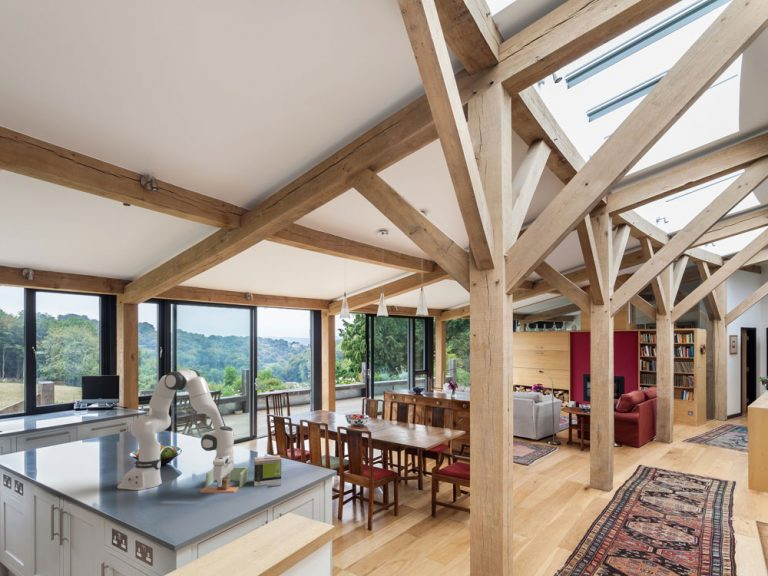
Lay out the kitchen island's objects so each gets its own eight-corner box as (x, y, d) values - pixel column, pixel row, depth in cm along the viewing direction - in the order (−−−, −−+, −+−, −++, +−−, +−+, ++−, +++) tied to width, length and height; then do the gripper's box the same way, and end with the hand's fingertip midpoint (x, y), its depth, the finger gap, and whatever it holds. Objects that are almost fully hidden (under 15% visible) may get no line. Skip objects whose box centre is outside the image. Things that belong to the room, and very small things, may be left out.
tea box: (279, 480, 259) (280, 454, 261) (281, 485, 250) (282, 459, 252) (253, 482, 255) (254, 456, 256) (253, 488, 245) (254, 461, 247)
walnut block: (217, 490, 237) (217, 480, 238) (220, 487, 242) (221, 477, 243) (226, 490, 237) (226, 480, 238) (229, 487, 242) (230, 477, 242)
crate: (205, 489, 244) (206, 473, 245) (214, 481, 256) (215, 466, 257) (241, 489, 244) (241, 473, 245) (248, 482, 256) (248, 467, 257)
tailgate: (205, 489, 243) (199, 493, 236) (205, 486, 243) (200, 490, 236) (239, 489, 243) (234, 493, 235) (239, 486, 243) (234, 490, 235)
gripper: (226, 452, 251) (225, 477, 250) (211, 462, 231) (210, 489, 230) (237, 452, 251) (236, 477, 250) (223, 462, 231) (222, 490, 229)
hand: (223, 483), depth 240 cm, fingers open, 8 cm apart
